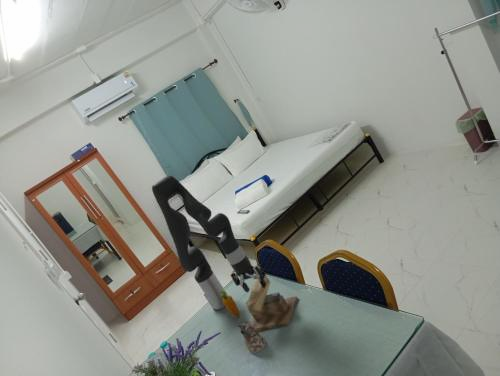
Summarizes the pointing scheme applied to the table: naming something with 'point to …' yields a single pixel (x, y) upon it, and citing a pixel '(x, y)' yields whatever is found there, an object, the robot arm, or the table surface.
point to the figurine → (251, 338)
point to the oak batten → (258, 296)
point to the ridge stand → (274, 312)
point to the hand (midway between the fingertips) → (256, 288)
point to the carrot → (229, 304)
